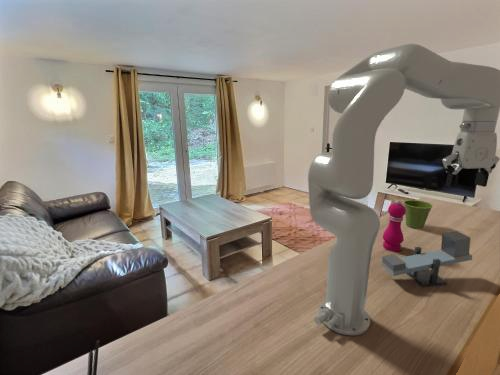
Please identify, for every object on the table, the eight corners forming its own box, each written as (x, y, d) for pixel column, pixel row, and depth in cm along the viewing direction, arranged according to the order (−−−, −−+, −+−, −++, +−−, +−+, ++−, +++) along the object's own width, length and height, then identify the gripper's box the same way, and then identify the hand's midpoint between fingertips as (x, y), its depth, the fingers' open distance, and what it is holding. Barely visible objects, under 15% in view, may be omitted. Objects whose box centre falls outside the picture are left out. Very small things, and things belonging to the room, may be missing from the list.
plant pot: (401, 219, 134) (404, 198, 131) (429, 224, 127) (433, 202, 124) (398, 227, 124) (401, 204, 122) (428, 233, 118) (432, 209, 115)
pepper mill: (404, 253, 101) (412, 203, 96) (384, 251, 103) (390, 202, 98) (398, 244, 108) (405, 197, 103) (379, 242, 110) (385, 196, 104)
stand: (422, 287, 81) (427, 262, 79) (401, 269, 90) (405, 247, 88) (446, 285, 82) (451, 260, 80) (423, 268, 91) (427, 245, 89)
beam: (393, 275, 81) (393, 265, 80) (382, 265, 87) (381, 255, 86) (471, 259, 83) (472, 249, 82) (455, 250, 89) (456, 241, 88)
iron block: (454, 257, 82) (455, 240, 81) (441, 250, 87) (442, 233, 85) (468, 254, 83) (470, 237, 81) (455, 247, 87) (456, 230, 86)
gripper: (461, 128, 70) (449, 190, 75) (519, 127, 72) (504, 188, 77) (439, 127, 78) (429, 184, 82) (491, 127, 79) (479, 182, 84)
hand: (465, 186), depth 79 cm, fingers open, 9 cm apart
